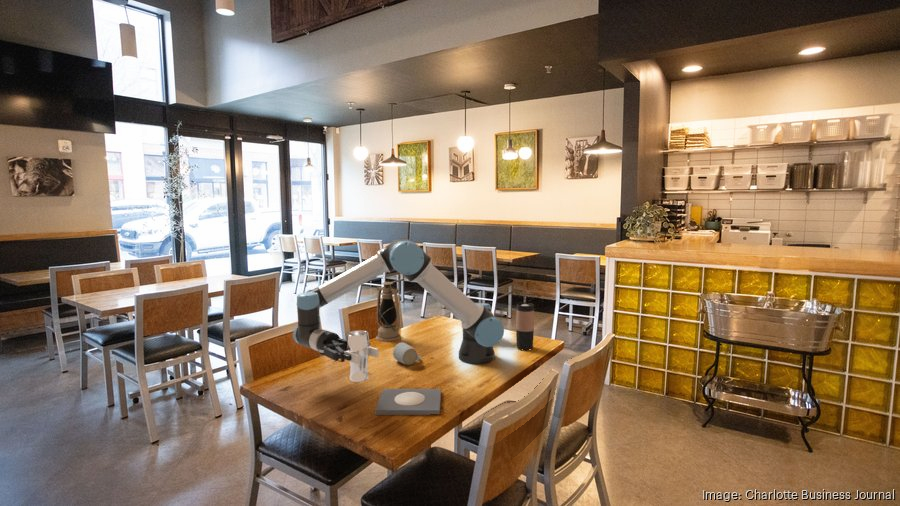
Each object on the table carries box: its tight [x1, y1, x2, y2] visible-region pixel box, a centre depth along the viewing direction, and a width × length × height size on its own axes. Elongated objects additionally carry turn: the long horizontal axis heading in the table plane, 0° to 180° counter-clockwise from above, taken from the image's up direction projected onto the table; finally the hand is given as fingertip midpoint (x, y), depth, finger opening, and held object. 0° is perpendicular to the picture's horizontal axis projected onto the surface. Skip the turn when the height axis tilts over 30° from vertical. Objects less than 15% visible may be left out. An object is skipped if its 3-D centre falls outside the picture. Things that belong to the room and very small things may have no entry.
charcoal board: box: [374, 388, 442, 416], centre depth 152 cm, size 20×16×2 cm
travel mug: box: [515, 302, 535, 351], centre depth 205 cm, size 8×8×20 cm
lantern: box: [375, 275, 402, 343], centre depth 221 cm, size 14×12×30 cm
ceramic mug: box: [392, 342, 422, 366], centre depth 189 cm, size 11×8×8 cm
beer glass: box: [346, 330, 370, 383], centre depth 148 cm, size 7×7×15 cm
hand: (368, 356), depth 145 cm, fingers closed on beer glass, 7 cm apart
